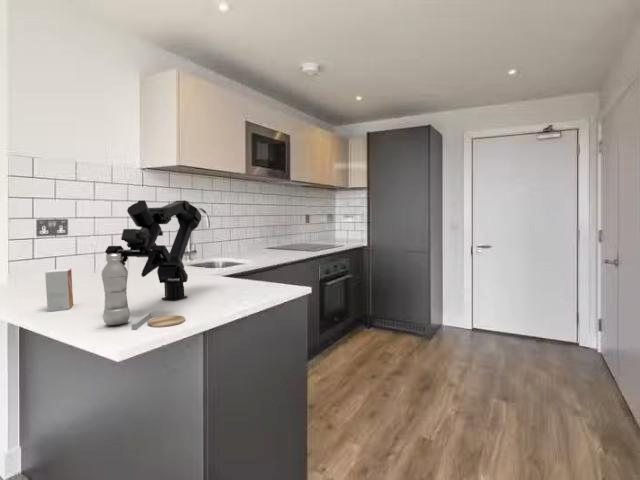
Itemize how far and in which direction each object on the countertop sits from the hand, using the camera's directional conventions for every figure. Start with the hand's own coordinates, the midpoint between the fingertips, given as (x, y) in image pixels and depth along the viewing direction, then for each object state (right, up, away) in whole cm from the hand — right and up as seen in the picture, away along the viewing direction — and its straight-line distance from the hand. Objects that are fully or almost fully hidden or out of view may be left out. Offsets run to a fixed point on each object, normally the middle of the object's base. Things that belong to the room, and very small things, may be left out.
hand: (127, 276), depth 112 cm
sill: (+6, -13, -4) cm, 15 cm away
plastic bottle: (0, -13, -5) cm, 14 cm away
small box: (-31, -13, +16) cm, 37 cm away
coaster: (+13, -13, -4) cm, 19 cm away
